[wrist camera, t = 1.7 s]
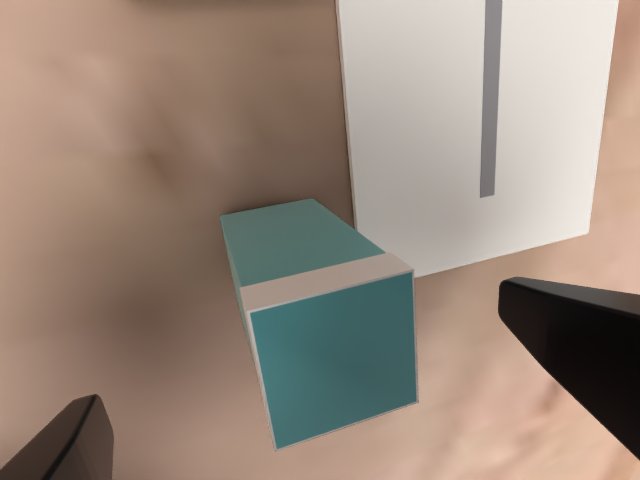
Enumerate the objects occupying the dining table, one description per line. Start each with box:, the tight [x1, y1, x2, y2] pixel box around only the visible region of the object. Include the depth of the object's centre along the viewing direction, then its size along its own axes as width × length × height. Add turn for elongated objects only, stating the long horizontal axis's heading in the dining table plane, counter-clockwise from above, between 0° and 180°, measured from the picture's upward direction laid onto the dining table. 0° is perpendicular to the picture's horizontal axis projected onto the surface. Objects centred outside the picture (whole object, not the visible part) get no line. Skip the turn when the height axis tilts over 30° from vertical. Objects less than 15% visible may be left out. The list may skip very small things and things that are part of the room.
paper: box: [335, 0, 619, 278], centre depth 16 cm, size 16×12×1 cm
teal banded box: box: [220, 198, 419, 452], centre depth 12 cm, size 3×3×8 cm
